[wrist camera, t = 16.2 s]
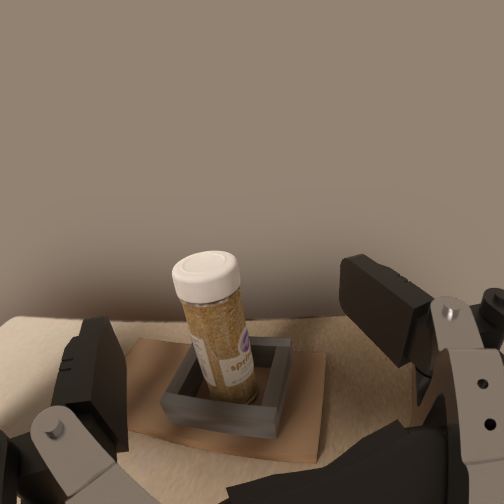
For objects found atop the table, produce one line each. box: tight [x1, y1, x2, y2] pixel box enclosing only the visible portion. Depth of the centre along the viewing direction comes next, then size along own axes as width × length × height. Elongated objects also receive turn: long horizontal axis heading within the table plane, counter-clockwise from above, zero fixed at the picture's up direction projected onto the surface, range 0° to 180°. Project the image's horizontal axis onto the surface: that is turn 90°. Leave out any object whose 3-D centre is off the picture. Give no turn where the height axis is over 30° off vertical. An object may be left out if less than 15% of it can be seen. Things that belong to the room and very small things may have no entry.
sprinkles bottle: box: [172, 251, 259, 405], centre depth 23 cm, size 5×5×14 cm
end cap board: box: [125, 336, 326, 463], centre depth 27 cm, size 22×12×4 cm, turn 77°
